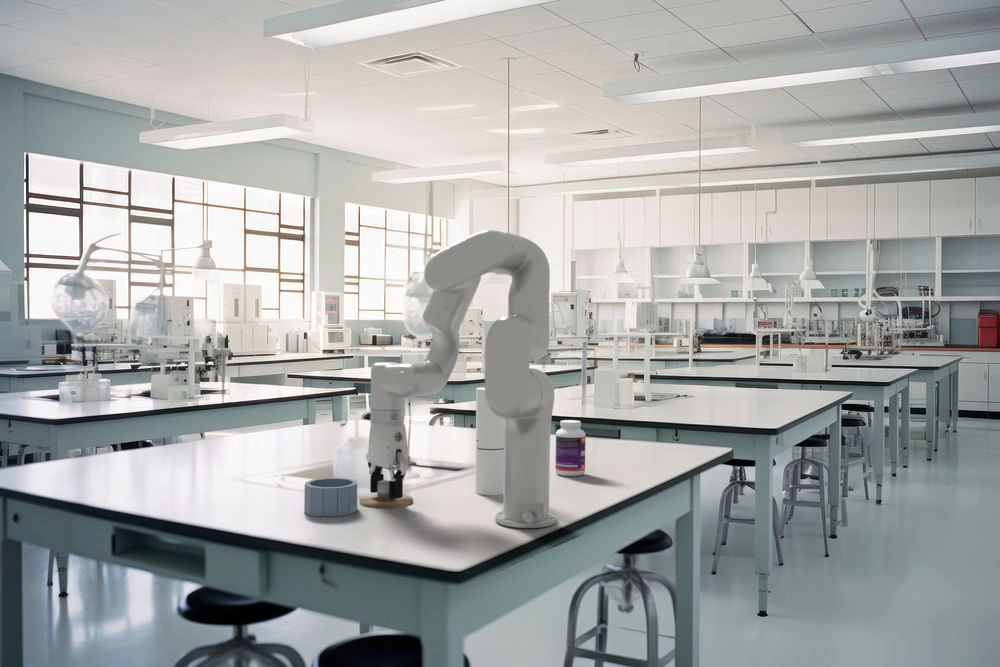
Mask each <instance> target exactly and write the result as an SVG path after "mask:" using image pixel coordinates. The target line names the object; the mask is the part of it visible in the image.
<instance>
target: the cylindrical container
mask: <svg viewBox="0 0 1000 667" xmlns="http://www.w3.org/2000/svg"><path fill="white" fill-rule="evenodd" d="M475 397H476V398H475V399H476V400H475V402H476V404H475V410H476V411H475V421H476V422H475V475H474V476H475V481H474V482H475V483H474V484H475V486H474V490H475V492H474V493H475V494H477V495H483V496H499V495H503V476H504V433H505V425H506V420H507V419H504V418H501V417H498V416H497V415H495V414H494V413H493V412H492V411H491V410H490V408H489V406H488V404H487V401H486V396H485V386H484V387H476V394H475Z"/></svg>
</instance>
